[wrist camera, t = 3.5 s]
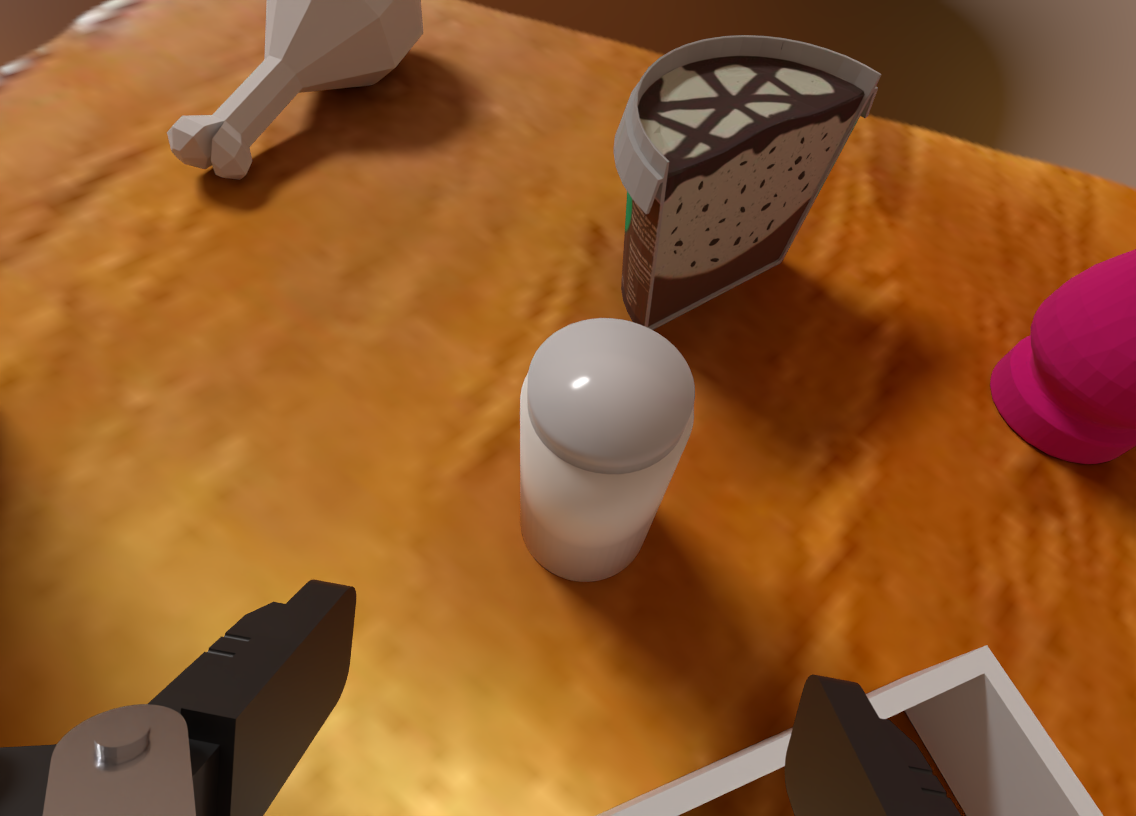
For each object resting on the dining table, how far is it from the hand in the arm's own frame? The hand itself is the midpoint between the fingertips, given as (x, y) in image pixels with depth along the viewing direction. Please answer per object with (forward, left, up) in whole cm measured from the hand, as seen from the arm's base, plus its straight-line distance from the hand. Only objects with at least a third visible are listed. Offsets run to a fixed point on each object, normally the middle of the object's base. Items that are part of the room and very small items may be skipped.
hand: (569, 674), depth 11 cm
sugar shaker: (+4, +7, -12) cm, 14 cm away
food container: (+14, +19, -12) cm, 27 cm away
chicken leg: (-1, +37, -12) cm, 39 cm away
